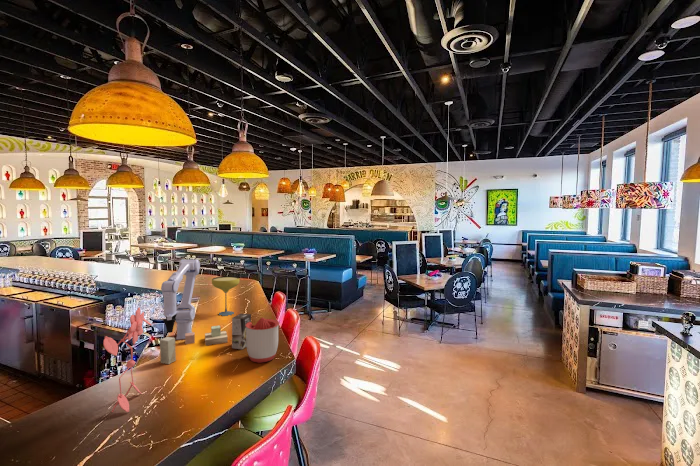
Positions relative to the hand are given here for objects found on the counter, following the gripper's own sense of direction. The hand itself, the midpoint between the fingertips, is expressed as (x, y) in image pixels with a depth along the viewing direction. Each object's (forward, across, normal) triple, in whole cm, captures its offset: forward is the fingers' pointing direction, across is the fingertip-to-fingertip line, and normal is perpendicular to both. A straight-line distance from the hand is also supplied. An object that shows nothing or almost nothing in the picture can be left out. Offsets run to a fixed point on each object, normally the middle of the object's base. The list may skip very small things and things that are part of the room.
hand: (170, 330), depth 173 cm
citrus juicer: (+10, -30, -41) cm, 52 cm away
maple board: (+9, +2, -22) cm, 24 cm away
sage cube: (+6, +2, -22) cm, 23 cm away
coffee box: (+10, -11, -34) cm, 37 cm away
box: (+10, -18, 0) cm, 20 cm away
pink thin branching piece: (+10, -53, +7) cm, 54 cm away
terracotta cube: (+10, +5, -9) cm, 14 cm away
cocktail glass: (+10, +53, -31) cm, 62 cm away
